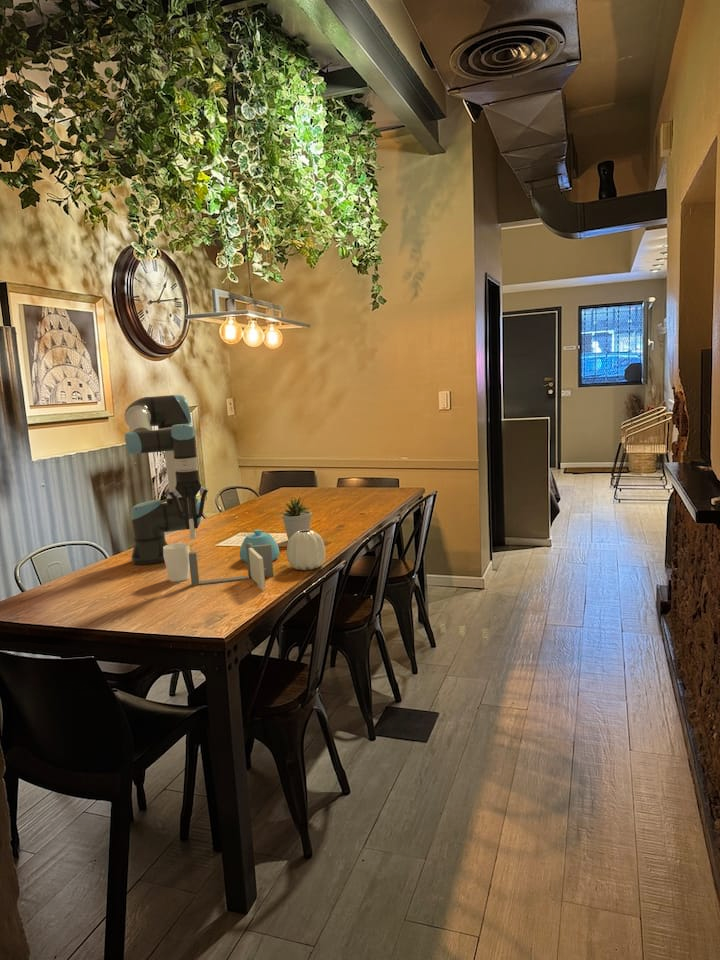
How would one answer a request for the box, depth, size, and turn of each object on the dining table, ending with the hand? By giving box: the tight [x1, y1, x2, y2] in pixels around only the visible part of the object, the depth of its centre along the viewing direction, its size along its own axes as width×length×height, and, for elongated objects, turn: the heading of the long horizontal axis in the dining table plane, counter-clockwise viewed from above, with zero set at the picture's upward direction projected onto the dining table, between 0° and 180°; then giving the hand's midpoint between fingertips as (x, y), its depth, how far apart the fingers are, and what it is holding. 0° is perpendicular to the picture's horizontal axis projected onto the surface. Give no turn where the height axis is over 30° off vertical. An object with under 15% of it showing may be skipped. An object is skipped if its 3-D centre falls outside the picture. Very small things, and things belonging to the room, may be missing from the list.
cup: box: [163, 542, 191, 583], centre depth 226 cm, size 9×9×12 cm
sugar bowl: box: [239, 529, 280, 564], centre depth 246 cm, size 15×15×12 cm
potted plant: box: [279, 495, 312, 541], centre depth 273 cm, size 13×14×20 cm
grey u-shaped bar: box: [189, 543, 275, 586], centre depth 221 cm, size 3×28×12 cm, turn 101°
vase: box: [286, 529, 327, 571], centre depth 230 cm, size 14×14×13 cm
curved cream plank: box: [248, 548, 266, 590], centre depth 213 cm, size 16×2×10 cm, turn 22°
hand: (193, 537), depth 221 cm, fingers closed
